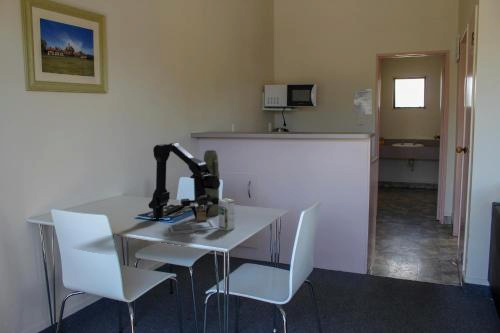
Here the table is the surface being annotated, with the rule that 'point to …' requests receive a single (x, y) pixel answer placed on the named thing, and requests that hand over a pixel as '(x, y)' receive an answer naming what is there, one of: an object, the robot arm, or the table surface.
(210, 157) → the thermos
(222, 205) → the syrup box
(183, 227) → the ink pad
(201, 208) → the stamp
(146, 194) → the table surface
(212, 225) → the board
